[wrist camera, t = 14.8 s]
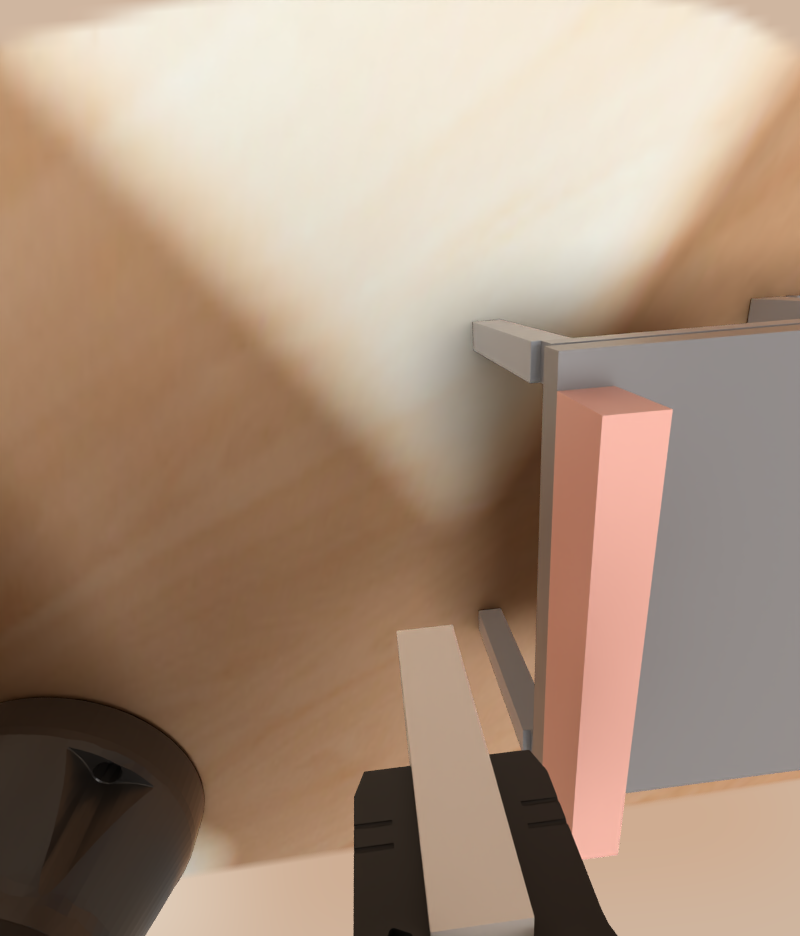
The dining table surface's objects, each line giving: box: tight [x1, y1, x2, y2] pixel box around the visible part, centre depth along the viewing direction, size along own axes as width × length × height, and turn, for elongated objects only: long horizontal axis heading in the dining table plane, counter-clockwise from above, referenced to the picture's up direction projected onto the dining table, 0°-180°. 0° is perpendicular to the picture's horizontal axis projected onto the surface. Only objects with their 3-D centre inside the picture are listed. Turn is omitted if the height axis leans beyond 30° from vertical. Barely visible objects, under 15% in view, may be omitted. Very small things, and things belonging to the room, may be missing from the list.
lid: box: [532, 324, 800, 860], centre depth 15 cm, size 10×16×4 cm, turn 4°
